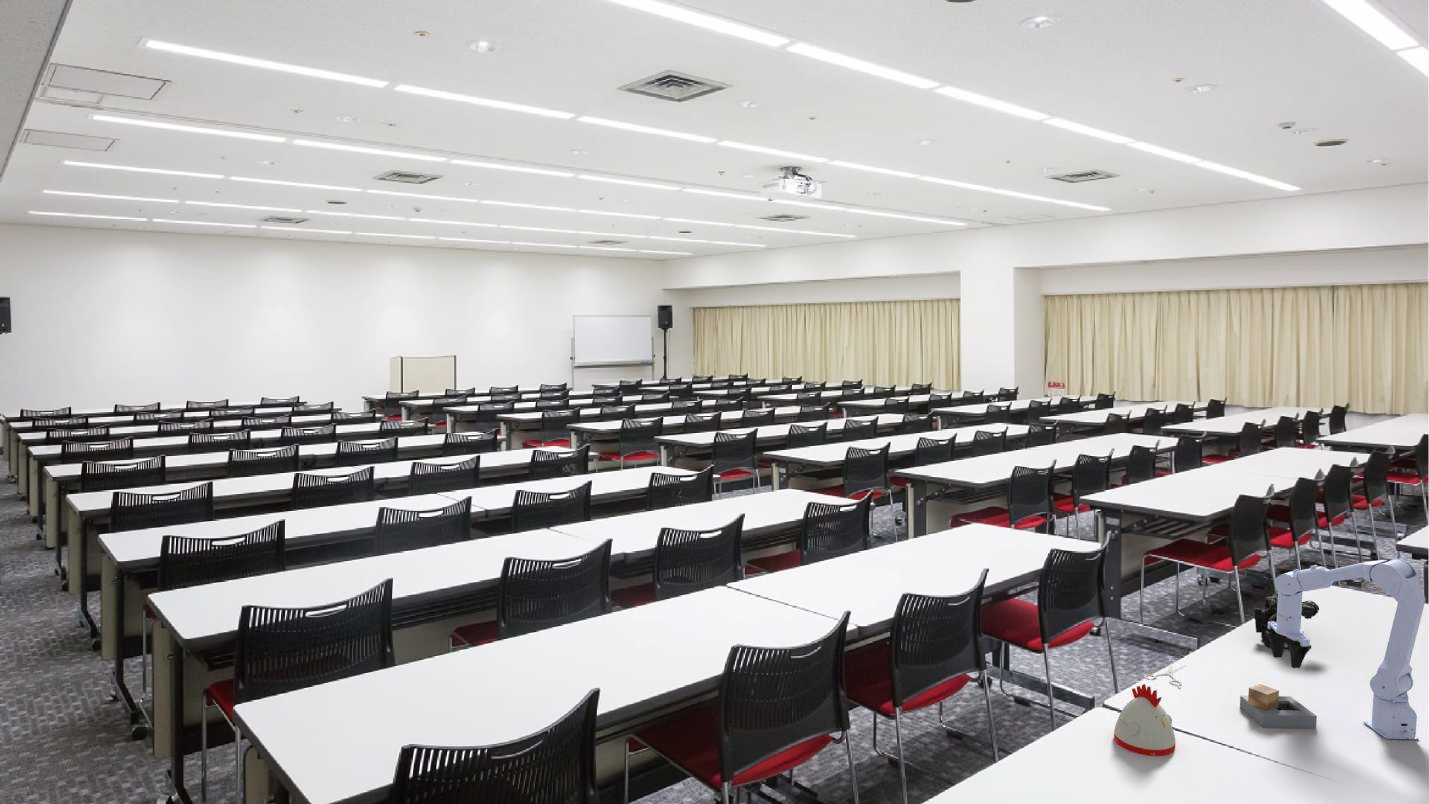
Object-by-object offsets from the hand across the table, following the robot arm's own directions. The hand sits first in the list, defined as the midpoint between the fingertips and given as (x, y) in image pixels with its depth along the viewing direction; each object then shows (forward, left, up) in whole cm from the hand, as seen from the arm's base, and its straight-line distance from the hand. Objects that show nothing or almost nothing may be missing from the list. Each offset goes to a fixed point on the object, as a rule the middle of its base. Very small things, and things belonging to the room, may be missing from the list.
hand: (1286, 662), depth 253 cm
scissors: (+15, +25, -11) cm, 31 cm away
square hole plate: (-14, +10, -10) cm, 20 cm away
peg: (-14, +13, -10) cm, 22 cm away
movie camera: (+46, -25, -10) cm, 53 cm away
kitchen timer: (-30, +50, -10) cm, 59 cm away
